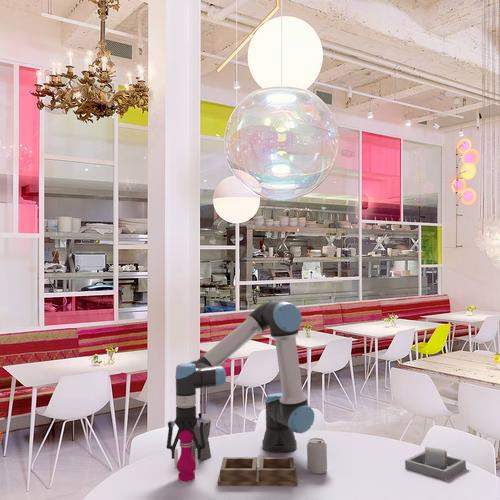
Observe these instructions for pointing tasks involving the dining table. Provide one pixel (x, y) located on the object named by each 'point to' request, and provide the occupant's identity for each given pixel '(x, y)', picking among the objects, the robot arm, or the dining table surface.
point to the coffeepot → (204, 452)
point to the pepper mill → (186, 457)
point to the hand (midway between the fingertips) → (186, 467)
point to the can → (317, 456)
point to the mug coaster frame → (416, 465)
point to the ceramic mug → (436, 458)
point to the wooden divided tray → (257, 472)
